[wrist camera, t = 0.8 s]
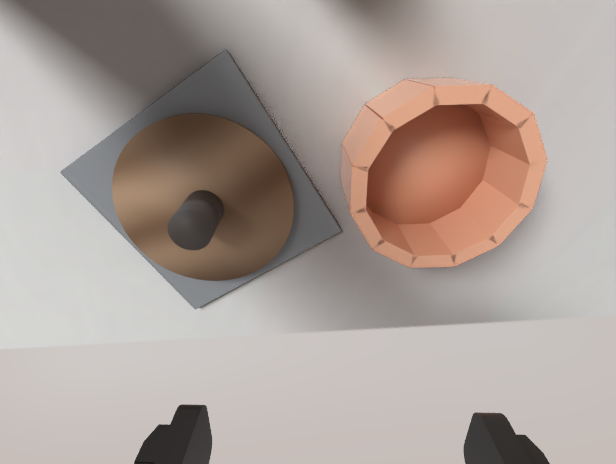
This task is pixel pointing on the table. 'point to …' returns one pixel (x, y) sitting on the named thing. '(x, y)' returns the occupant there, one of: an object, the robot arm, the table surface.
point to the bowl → (441, 170)
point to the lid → (203, 196)
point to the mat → (229, 104)
